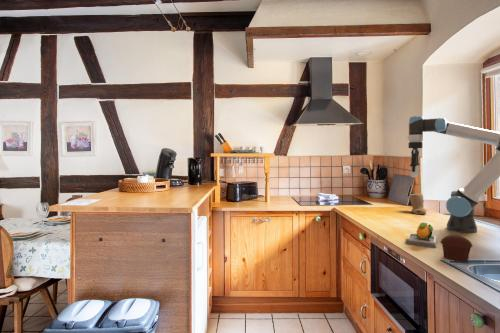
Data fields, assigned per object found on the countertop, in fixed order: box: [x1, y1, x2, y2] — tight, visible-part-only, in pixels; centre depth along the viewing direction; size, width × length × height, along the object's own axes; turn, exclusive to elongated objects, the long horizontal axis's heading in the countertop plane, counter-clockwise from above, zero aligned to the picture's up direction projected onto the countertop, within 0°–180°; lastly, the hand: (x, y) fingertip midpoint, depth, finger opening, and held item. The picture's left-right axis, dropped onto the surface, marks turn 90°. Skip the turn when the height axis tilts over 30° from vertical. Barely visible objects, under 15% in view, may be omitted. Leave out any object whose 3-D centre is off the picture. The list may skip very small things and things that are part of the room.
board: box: [405, 232, 437, 249], centre depth 161 cm, size 13×15×2 cm
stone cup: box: [408, 193, 427, 215], centre depth 236 cm, size 15×12×15 cm
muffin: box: [440, 234, 473, 263], centre depth 136 cm, size 12×11×10 cm
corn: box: [415, 221, 434, 240], centre depth 159 cm, size 7×8×20 cm
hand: (414, 176), depth 190 cm, fingers open, 13 cm apart
